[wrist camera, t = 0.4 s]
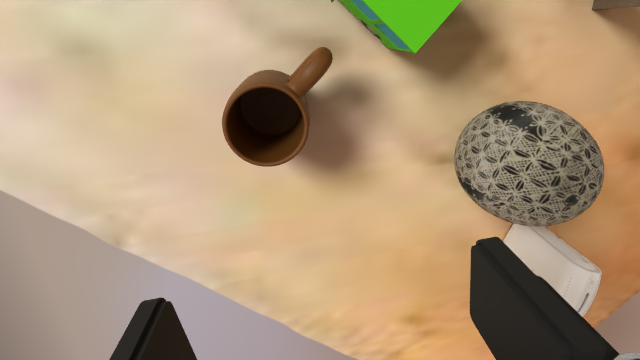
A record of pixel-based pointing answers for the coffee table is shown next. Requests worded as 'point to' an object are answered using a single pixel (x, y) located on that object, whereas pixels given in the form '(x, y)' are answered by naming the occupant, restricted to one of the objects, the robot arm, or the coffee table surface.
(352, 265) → the coffee table surface
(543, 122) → the decorative egg
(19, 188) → the coffee table surface
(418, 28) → the green toy car
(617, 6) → the gate posts
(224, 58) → the coffee table surface
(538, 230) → the photo printer
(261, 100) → the mug
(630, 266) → the coffee table surface
